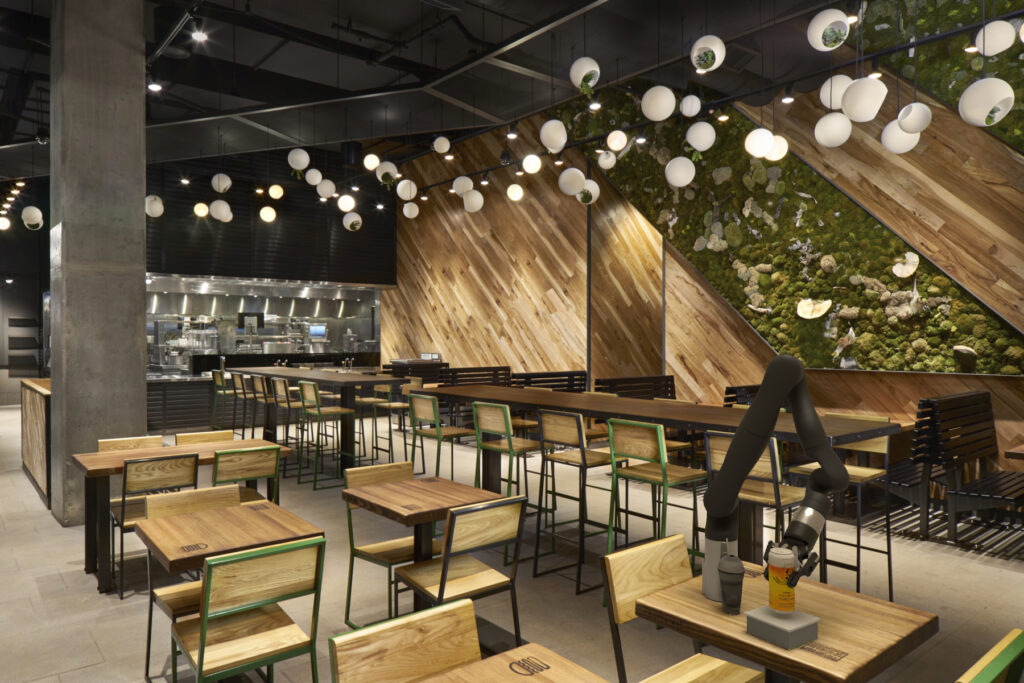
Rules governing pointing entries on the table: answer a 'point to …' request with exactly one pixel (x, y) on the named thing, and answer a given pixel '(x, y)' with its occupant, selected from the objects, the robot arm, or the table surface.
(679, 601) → the table surface
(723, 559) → the beverage cup
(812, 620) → the grey square box
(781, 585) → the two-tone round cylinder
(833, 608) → the table surface
